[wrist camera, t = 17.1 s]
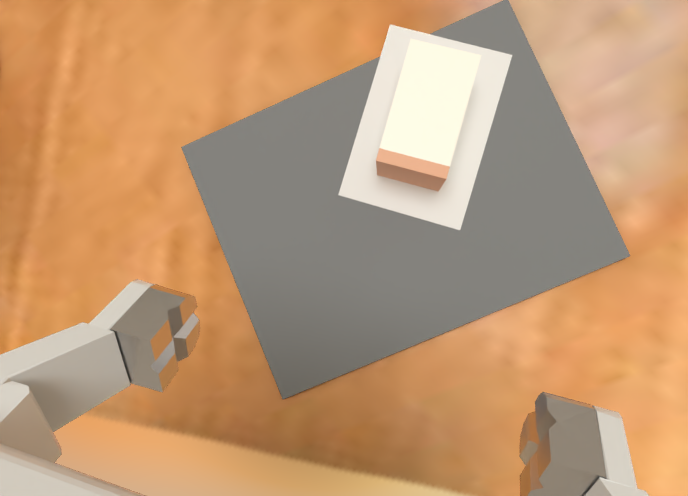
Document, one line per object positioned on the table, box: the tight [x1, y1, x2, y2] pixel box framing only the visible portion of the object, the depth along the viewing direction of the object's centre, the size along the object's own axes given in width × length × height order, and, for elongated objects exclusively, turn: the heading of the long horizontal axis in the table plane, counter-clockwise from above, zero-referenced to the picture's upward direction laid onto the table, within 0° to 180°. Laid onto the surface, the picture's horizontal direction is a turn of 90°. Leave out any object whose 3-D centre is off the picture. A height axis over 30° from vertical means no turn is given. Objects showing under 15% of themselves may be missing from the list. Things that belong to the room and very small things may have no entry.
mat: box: [181, 0, 630, 399], centre depth 34 cm, size 26×22×1 cm
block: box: [376, 39, 481, 191], centre depth 32 cm, size 4×4×8 cm
